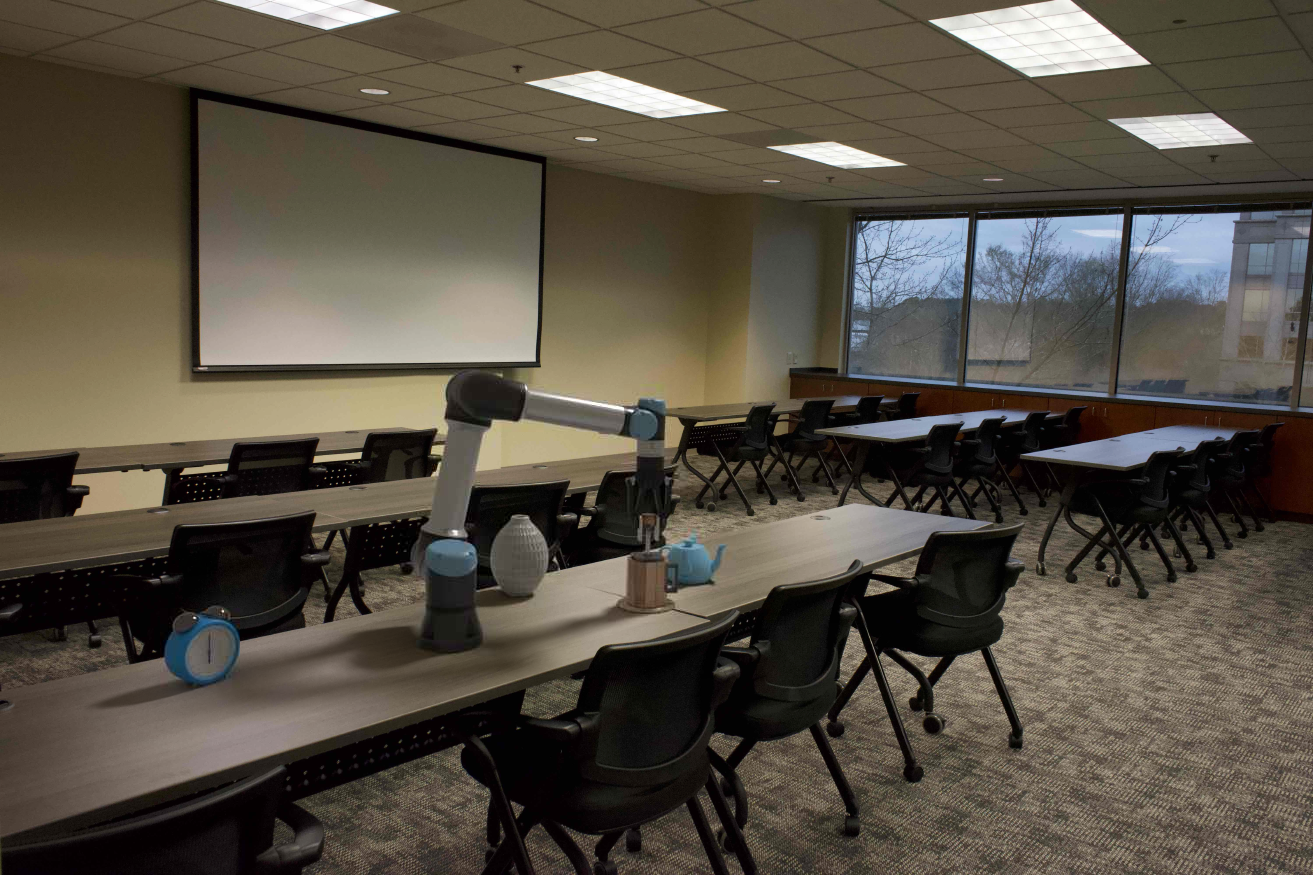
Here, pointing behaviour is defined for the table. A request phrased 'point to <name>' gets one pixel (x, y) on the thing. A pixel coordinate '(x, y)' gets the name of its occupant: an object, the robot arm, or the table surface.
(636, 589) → the press
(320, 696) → the table surface
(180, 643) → the alarm clock
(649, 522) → the plunger
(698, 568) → the teapot
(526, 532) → the vase
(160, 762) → the table surface
